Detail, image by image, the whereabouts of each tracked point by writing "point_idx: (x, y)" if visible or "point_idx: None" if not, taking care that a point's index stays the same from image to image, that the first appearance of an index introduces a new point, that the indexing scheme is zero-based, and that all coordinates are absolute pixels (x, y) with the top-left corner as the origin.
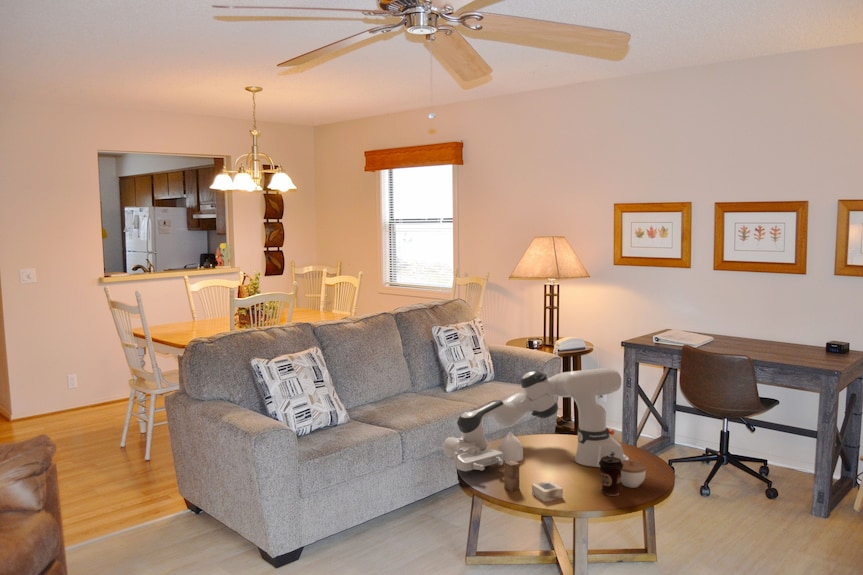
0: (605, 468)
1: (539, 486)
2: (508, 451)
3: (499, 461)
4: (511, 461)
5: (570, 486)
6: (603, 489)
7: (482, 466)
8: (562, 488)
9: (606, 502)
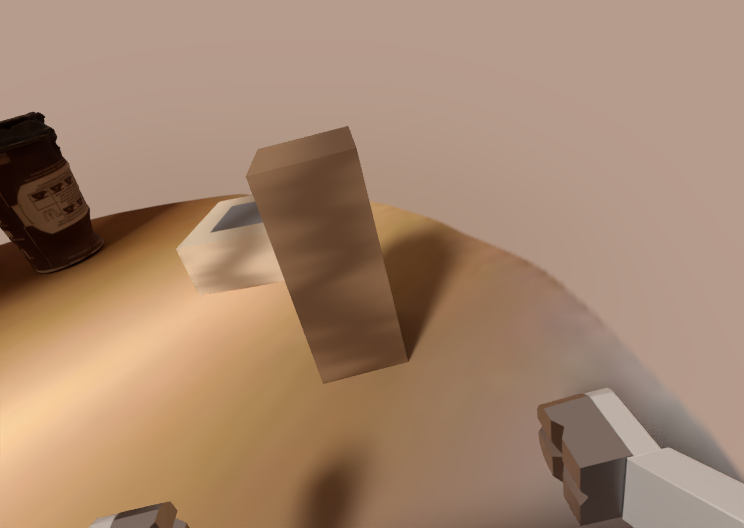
0: (49, 143)
1: None
2: None
3: (159, 523)
4: (278, 162)
5: (88, 312)
6: (90, 234)
7: (580, 396)
8: (220, 202)
9: (162, 219)
